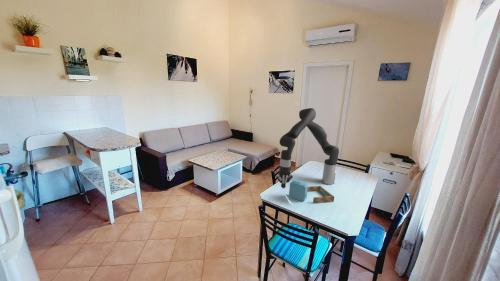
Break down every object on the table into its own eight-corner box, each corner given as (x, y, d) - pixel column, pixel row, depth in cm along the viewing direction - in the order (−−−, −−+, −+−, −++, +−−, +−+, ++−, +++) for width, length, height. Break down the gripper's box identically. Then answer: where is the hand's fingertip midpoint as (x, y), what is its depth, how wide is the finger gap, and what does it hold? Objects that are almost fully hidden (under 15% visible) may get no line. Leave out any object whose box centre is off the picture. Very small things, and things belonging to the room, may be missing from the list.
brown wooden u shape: (319, 190, 162) (320, 185, 162) (333, 201, 145) (334, 196, 145) (301, 191, 159) (302, 186, 158) (313, 203, 142) (314, 198, 141)
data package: (306, 199, 147) (308, 184, 144) (304, 202, 143) (305, 186, 140) (291, 194, 153) (292, 179, 151) (288, 196, 150) (290, 181, 147)
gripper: (291, 163, 145) (289, 185, 149) (274, 163, 142) (272, 186, 146) (296, 166, 138) (293, 189, 142) (278, 167, 135) (276, 190, 139)
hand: (283, 187), depth 144 cm, fingers closed
